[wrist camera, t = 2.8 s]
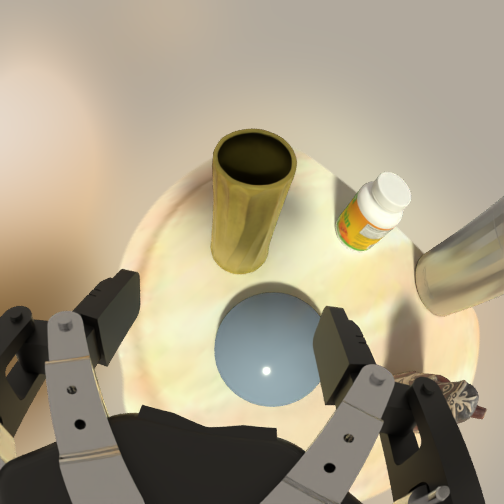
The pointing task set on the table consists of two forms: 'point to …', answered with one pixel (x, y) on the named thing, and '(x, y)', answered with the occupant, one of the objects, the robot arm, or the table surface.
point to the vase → (248, 196)
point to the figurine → (451, 395)
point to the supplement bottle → (373, 212)
